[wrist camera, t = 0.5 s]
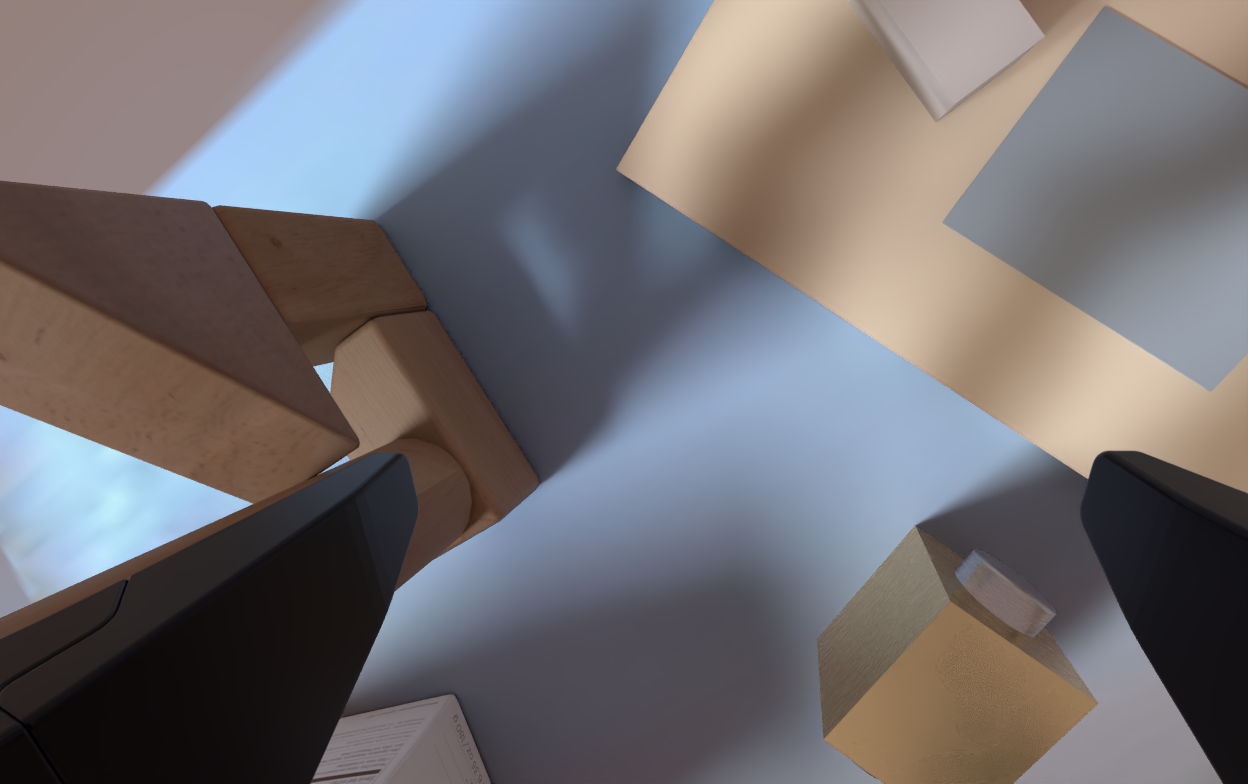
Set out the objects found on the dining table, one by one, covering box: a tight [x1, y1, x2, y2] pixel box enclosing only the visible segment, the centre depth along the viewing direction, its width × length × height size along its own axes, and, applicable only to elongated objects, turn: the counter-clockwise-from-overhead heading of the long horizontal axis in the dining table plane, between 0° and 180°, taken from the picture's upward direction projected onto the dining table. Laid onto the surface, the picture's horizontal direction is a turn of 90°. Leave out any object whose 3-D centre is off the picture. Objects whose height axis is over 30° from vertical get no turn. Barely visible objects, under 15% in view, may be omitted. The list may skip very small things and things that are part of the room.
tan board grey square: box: [616, 0, 1248, 493], centre depth 17 cm, size 25×13×3 cm, turn 58°
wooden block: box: [0, 181, 539, 638], centre depth 16 cm, size 4×11×18 cm, turn 33°
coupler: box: [817, 526, 1098, 784], centre depth 19 cm, size 7×4×5 cm, turn 148°
